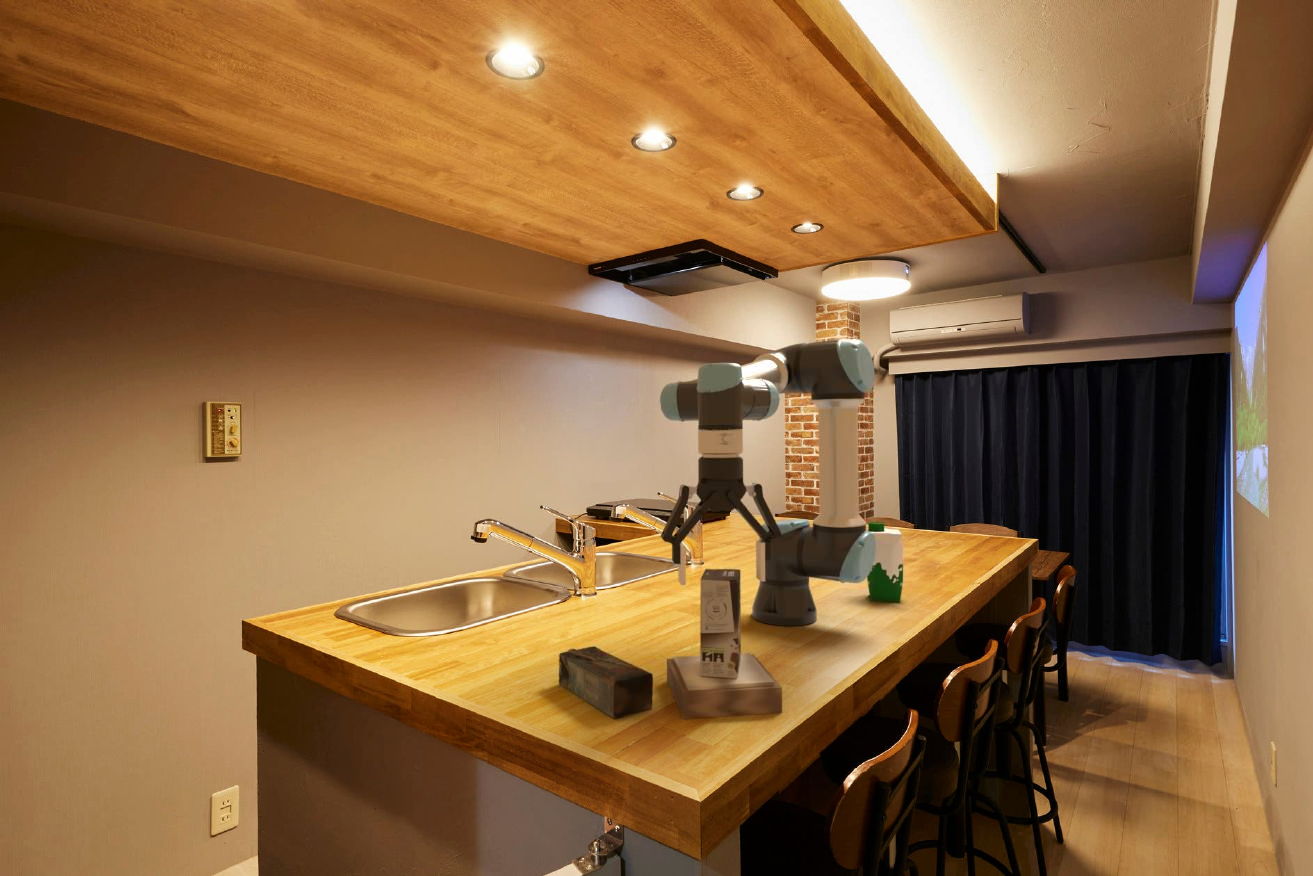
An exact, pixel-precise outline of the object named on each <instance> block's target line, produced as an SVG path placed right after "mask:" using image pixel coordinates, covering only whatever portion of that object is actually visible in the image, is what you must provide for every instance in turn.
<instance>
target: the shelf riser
mask: <svg viewBox="0 0 1313 876" xmlns="http://www.w3.org/2000/svg"><path fill="white" fill-rule="evenodd" d="M666 682H667V684H668V687H669V690H670V691H671V694H672V696H673V699H674V702H675V703H676V706H677V708H678V711H679V713H680V716H681V718H682V720H687V719H690V720H691V719H704V718H719V717H735V716H750V715H764V714H765V715H766V714H782V713H783V687H782V686H781V684H779V682H778V680H776V678H775V677H774V676H773V675H772V674H771V673H770V671H769V670H768V669H767V668H766V667H765V666H764V665H763V663H762V662H761V661H760V660H759V659H758V657H756V655H755V654H753V653H752V654H751V653H749V652H747V653H745V652H744V653H742V652H741V661H740V667H739V673H738V678H736V679H731V678H719V677H705V676H700V655H690V656H689V655H687V656H673V657H672V658H666Z"/></svg>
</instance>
